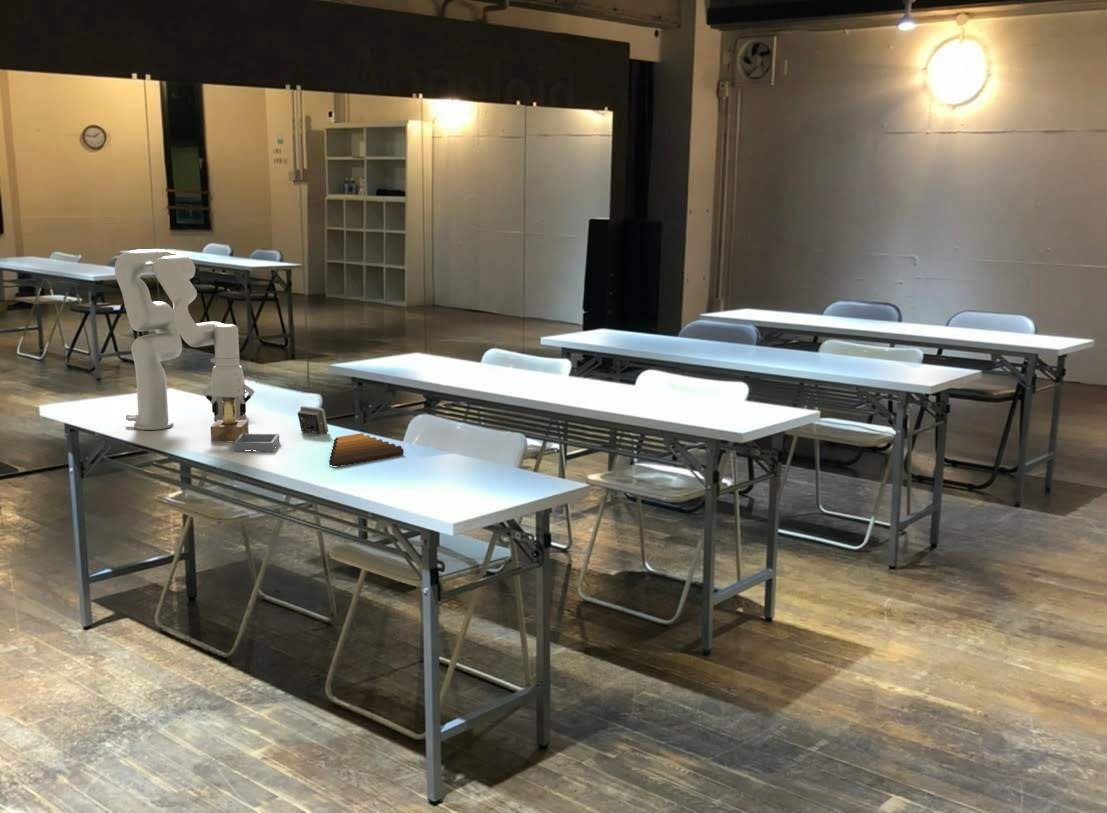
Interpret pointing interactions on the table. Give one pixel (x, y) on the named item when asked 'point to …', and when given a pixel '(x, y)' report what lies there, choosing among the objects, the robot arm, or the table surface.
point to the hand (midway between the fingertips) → (229, 414)
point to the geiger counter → (220, 408)
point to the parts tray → (256, 442)
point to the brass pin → (229, 411)
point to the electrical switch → (312, 420)
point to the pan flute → (361, 449)
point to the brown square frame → (228, 430)
